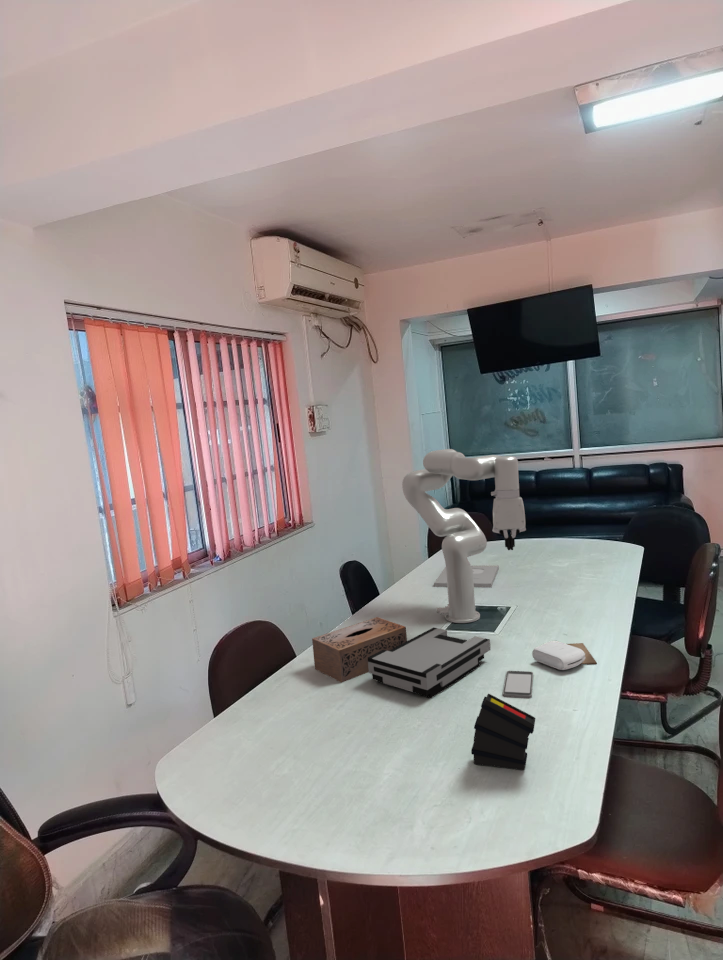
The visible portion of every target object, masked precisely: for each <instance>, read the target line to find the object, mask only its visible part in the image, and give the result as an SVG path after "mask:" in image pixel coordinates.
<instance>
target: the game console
mask: <svg viewBox="0 0 723 960" xmlns="http://www.w3.org/2000/svg"><path fill="white" fill-rule="evenodd" d="M490 651H491V640H490V638H485V637H480V636H475V635H474V636H472V637H471V638H470V639H469V638H468V640H466V639H463V638H457V637H453V636H448V629H443V628H437V627H431V628H430V629H428V630H426V631H424V632H422V633H420V634H418V635H417V636H415V637H412V638H411V639H409V640H407V642H405V643H403V644H401V645H399V646H397V647H395V648H393V649H391V650H389V651H387V650H381V651H379V652H377V653H375V654H373V655H372V656H370V657H368V668H369V672H368V674H371V677H372V680H374V681H377V683H380V684H383V685H387V686H389V687H396V688H397V689H398V688H399V689H402V690H405V691H408V692H412V694H413V693H414V694H416V695H419V696H422V697H426V698H429V699H432V698H433V697H435V696H437V695H438V694H440V693H441V692H442V691H444V690H446V689H447V688H449V687H451V686H452V685H454V684H455V683H457V682H458V681H460V680H461V679H462V678H464V677H466V676H467V675H468V674H470V673H472V672H473V671H474V670H476V669H478V668H479V667H481V661H482V660H484V659H485V654H486V653H488V652H490Z"/></svg>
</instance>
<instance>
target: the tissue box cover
mask: <svg viewBox="0 0 723 960" xmlns="http://www.w3.org/2000/svg"><path fill="white" fill-rule="evenodd" d="M407 636H408V635H407V626H405V625H401V624H399V623H396V622H393V621H390V620H388V619H385V618H382V617H379V616H376V617H373V618H371V619H368V620H364V621H361V622H358V623H356V624H351V625H349V626H345V627H343V628H339V629H337V630H334V631H331V632H328V633H325V634H321V635H318V636H316V637H313V638H311V641H312V652H313V653H312V654H313V661H314V662H313V663H314V670H316V671H318V672H320V673H322V674H324V675H326V676H328V677H330V678H332V679H333V680H336V681H338V682H339V683H341V684H342V683H345V682H347V681H349V680H353V679H354V678H358V677H360V676H363V675H365V674H369V668H368V657H370V656H372V655H373V654H375V653H377V652H379V651H381V650H387V651H389V650H391V649H393V648H395V647H397V646H399V645H401V644H403V643H405V642H407V641H408V640H407V639H408V637H407Z"/></svg>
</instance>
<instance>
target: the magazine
mask: <svg viewBox="0 0 723 960" xmlns="http://www.w3.org/2000/svg"><path fill="white" fill-rule="evenodd" d="M475 720H476V721H475V723H474V725H473V729H474V736H473V744H472V747H471V755H473V764H474V765H478V766H485V767H491V768H493V767H494V768H503V769H512V770H518V771H524V770H525V768H526V764H527V760H528V752H526V750H527V749H528V745H529V736H530V734H531V735H533V733H534V731H535V724H536V716H533V715H531V714H529V713H528V712H525V711H524V710H522V709H519V708H518V707H516V706H514V705H512V704H510V703H508V702H506V701H504V700H502V699H500V698H498V697H496V696H494V695H493V694H491V693H487V695H486V696H484V697H483V699H482V702H481V705H480V711H479V714H478V716H477V717H476V719H475Z"/></svg>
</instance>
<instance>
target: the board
mask: <svg viewBox="0 0 723 960" xmlns="http://www.w3.org/2000/svg"><path fill="white" fill-rule="evenodd" d="M567 644H568V645H571V646H574V647H577V648H580V649H581V650H583V651H584V653H585V660H584V661H583V662H582V663H581V664H587V665H597V664H598V663H597V661H596V659H595V658H594V657H593V655H592V654H591V652H590V650H588V647H586V645H585V644H584V643H583V642H577V643H575V642H574V643H567ZM581 664H579V665H578V666H582V665H581Z"/></svg>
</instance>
